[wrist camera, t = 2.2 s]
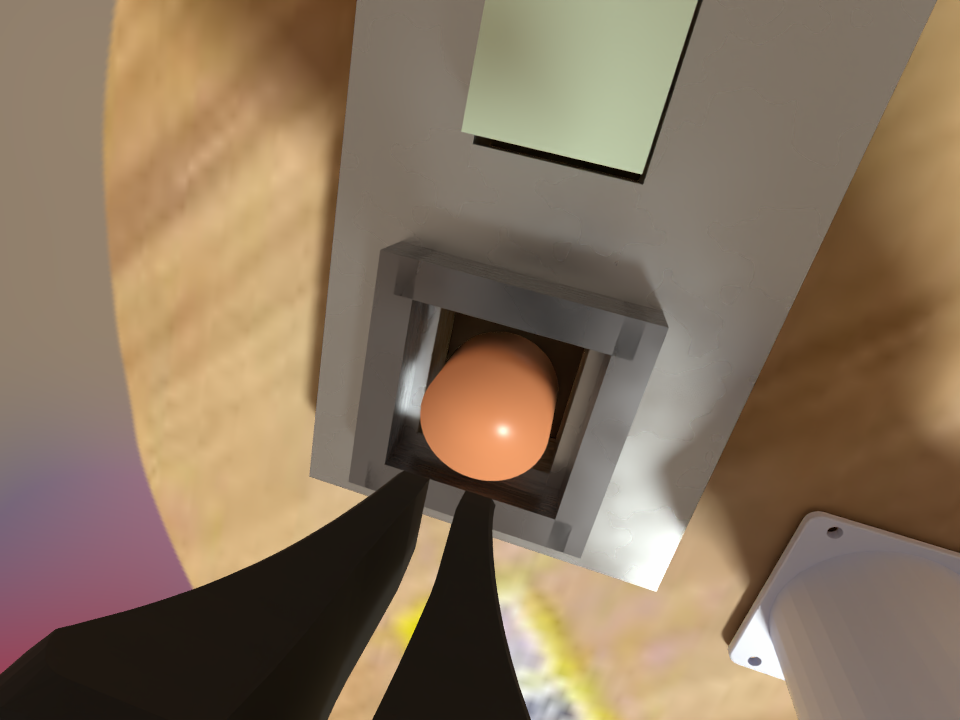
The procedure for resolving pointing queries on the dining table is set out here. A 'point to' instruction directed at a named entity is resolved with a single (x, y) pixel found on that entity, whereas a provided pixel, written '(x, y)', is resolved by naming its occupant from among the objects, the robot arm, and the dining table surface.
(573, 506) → the control box
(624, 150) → the pale green block
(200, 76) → the dining table surface
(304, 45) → the dining table surface
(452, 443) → the button
